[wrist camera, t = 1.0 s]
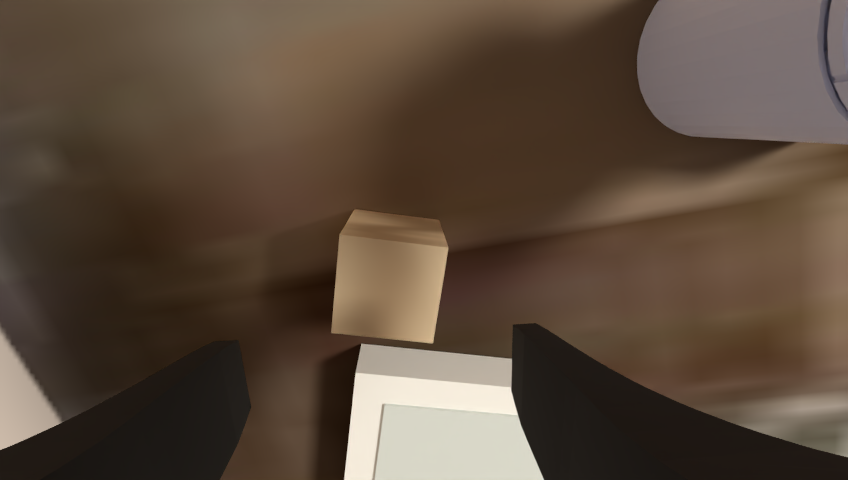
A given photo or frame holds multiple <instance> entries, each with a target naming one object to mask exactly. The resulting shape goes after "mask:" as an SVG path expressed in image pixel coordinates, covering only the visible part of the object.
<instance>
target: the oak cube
mask: <svg viewBox="0 0 848 480" xmlns="http://www.w3.org/2000/svg"><path fill="white" fill-rule="evenodd" d="M447 254H448V245H447V242H446V239H445V236H444V233H443V230H442V227H441V224H440V221H439V220H437V219H429V218H421V217H413V216H405V215H398V214H390V213H382V212H374V211H366V210H358V209H354V211H353V213H352V214H351V216H350V218H349V219H348V221H347V223H346V224H345V226H344V228H343V230H342V231H341V233H340V235H339V247H338V259H337V270H336V282H335V294H334V306H333V317H332V329H331V333H337V334H347V335H357V336H367V337H377V338H386V339H396V340H406V341H416V342H426V343H433V339H434V333H435V327H436V321H437V315H438V309H439V302H440V296H441V290H442V284H443V278H444V272H445V266H446V260H447Z"/></svg>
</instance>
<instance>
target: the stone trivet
mask: <svg viewBox="0 0 848 480" xmlns="http://www.w3.org/2000/svg"><path fill="white" fill-rule="evenodd" d="M511 380H512V359H508V358H498V357H488V356H478V355H468V354H458V353H448V352H438V351H428V350H418V349H408V348H398V347H388V346H378V345H368V344H361V348H360V353H359V358H358V363H357V368H356V374H355V383H354V392H353V402H352V411H351V420H350V430H349V439H348V448H347V458H346V467H345V476H344V480H544V479H543V476H542V474H541V472H540V469H539V467H538V465H537V462H536V460H535V458H534V455H533V453H532V451H531V448H530V446H529V444H528V441H527V439H526V436H525V434H524V432H523V429H522V427H521V424H520V420H519V417H518V414H517V410H516V407H515V403H514V399H513V395H512V392H511Z"/></svg>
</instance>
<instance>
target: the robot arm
mask: <svg viewBox="0 0 848 480" xmlns="http://www.w3.org/2000/svg"><path fill="white" fill-rule="evenodd" d="M637 76H638V81H639V86H640V90H641V93H642V95H643V98H644V100H645V103H646V105H647V106H648V108H649V109H650V110H651V112H652V113H653V115H654V116H655V117H656V118H657V119H658V120H659V121H660V122H661V123H662V124H664V125H665V126H667V127H668V128H670V129H672V130H674V131H675V132H678V133H681V134H684V135H688V136H694V137H710V138H730V139H750V140H770V141H790V142H811V143H831V144H848V0H659V1H658V2H657V3H656V5H655V6H654V8H653V10H652V12H651V14H650V16H649V17H648V19H647V21H646V24H645V27H644V29H643V32H642V35H641V38H640V43H639V49H638V54H637ZM511 392H512V395H513V399H514V403H515V407H516V410H517V414H518V417H519V420H520V424H521V427H522V429H523V432H524V434H525V436H526V439H527V441H528V444H529V446H530V448H531V451H532V453H533V455H534V458H535V460H536V462H537V465H538V467H539V469H540V472H541V474H542V476H543V479H544V480H848V458H847V457H844V456H840V455H836V454H832V453H828V452H824V451H820V450H816V449H812V448H809V447H805V446H802V445H798V444H795V443H792V442H789V441H785V440H782V439H779V438H775V437H772V436H769V435H766V434H762V433H759V432H756V431H753V430H750V429H747V428H744V427H741V426H739V425H736V424H733V423H730V422H727V421H725V420H722V419H719V418H717V417H714V416H711V415H709V414H706V413H703V412H701V411H698V410H696V409H693V408H691V407H688V406H686V405H683V404H681V403H679V402H676V401H674V400H672V399H670V398H667V397H665V396H663V395H661V394H659V393H657V392H654V391H652V390H650V389H648V388H646V387H644V386H642V385H640V384H638V383H636V382H634V381H632V380H630V379H628V378H626V377H624V376H623V375H621V374H619V373H617V372H615V371H613V370H612V369H610V368H608V367H606V366H605V365H603V364H601V363H599V362H598V361H596V360H594V359H593V358H591V357H589V356H588V355H586V354H584V353H583V352H581V351H580V350H578V349H576V348H575V347H573V346H572V345H570V344H569V343H567V342H565V341H564V340H562V339H561V338H559V337H558V336H556V335H555V334H553V333H551V332H550V331H548V330H547V329H545V328H543V327H542V326H540V325H538V324H536V323H534V324H516V325H513V342H512V380H511ZM250 408H251V404H250V399H249V394H248V388H247V383H246V378H245V373H244V367H243V362H242V357H241V352H240V346H239V341H238V340H234V341H216V342H213V343H210V344H208V345H206V346H204V347H202V348H200V349H198V350H196V351H194V352H192V353H190V354H189V355H187V356H185V357H183V358H181V359H180V360H178V361H176V362H174V363H173V364H171V365H169V366H167V367H166V368H164V369H162V370H160V371H159V372H157V373H155V374H153V375H152V376H150V377H148V378H146V379H145V380H143V381H141V382H139V383H137V384H136V385H134V386H132V387H130V388H128V389H126V390H125V391H123V392H121V393H119V394H117V395H115V396H113V397H111V398H110V399H108V400H106V401H104V402H102V403H100V404H98V405H97V406H95V407H93V408H91V409H89V410H87V411H85V412H83V413H81V414H79V415H77V416H75V417H73V418H71V419H69V420H67V421H65V422H63V423H61V424H59V425H56V426H54V427H52V428H50V429H48V430H46V431H43V432H41V433H39V434H37V435H35V436H33V437H30V438H28V439H26V440H24V441H21V442H19V443H17V444H14V445H12V446H10V447H7V448H5V449H2V450H0V480H220V478H221V476H222V474H223V472H224V470H225V468H226V466H227V464H228V462H229V460H230V458H231V456H232V454H233V452H234V450H235V448H236V446H237V444H238V442H239V439H240V437H241V434H242V431H243V429H244V426H245V423H246V420H247V417H248V414H249V411H250Z"/></svg>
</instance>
